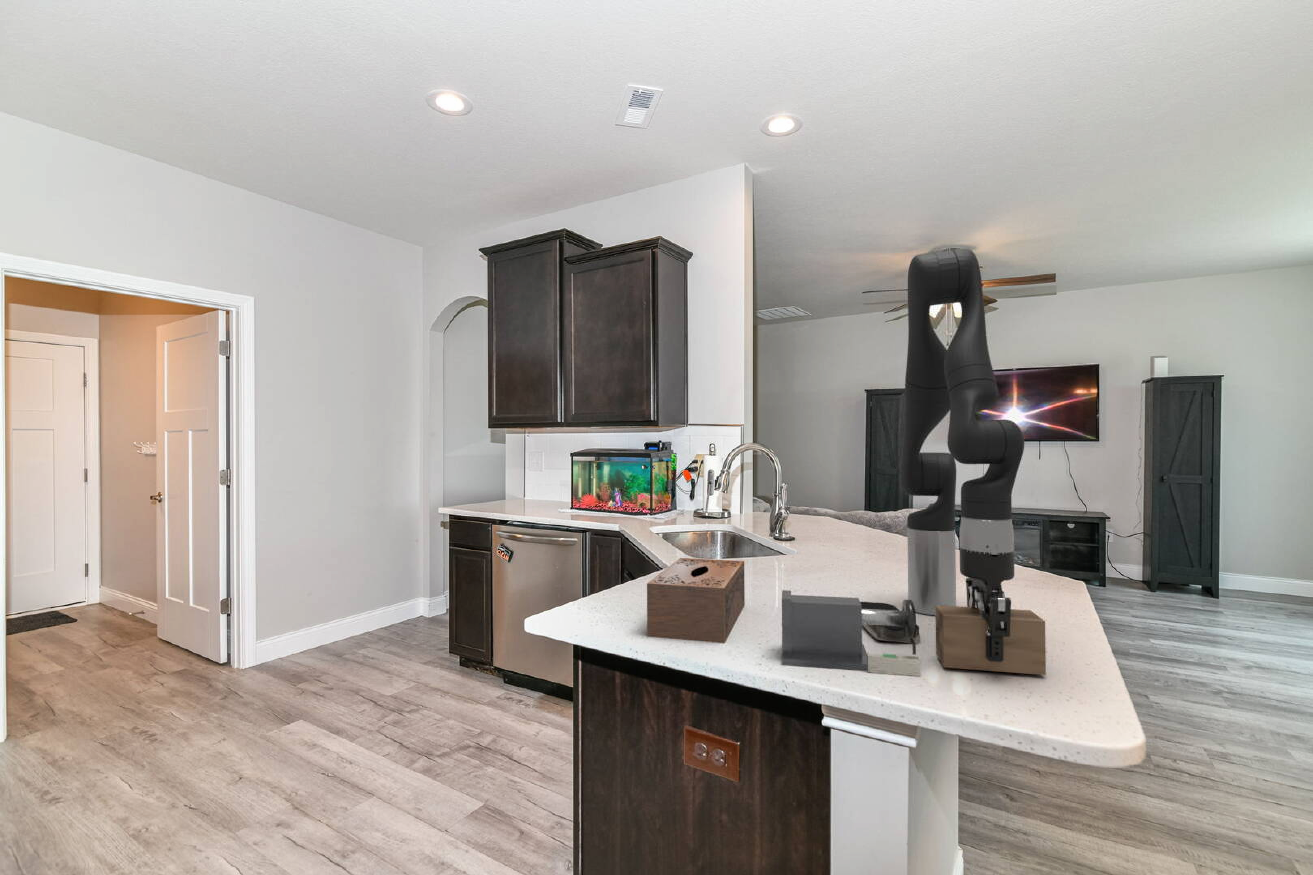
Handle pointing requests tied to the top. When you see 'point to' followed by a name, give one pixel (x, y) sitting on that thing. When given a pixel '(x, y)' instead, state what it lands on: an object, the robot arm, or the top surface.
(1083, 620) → the top surface
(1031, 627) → the walnut block
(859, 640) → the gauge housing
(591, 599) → the top surface
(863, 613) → the plunger
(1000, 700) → the top surface
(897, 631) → the black curved shell
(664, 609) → the tissue box cover
